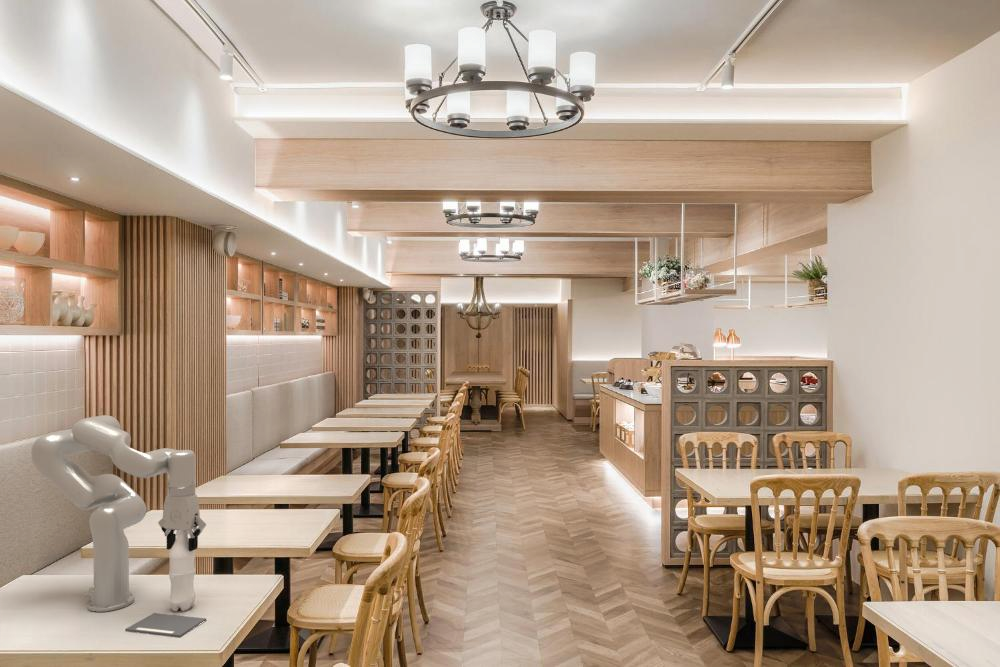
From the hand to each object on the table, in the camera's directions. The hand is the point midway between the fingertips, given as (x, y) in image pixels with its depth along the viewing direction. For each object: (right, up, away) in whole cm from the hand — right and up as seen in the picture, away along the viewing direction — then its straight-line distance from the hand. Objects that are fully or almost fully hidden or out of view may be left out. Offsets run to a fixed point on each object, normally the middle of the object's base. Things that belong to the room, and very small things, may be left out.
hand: (182, 548), depth 201 cm
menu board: (+1, -18, -12) cm, 22 cm away
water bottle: (0, -18, 0) cm, 18 cm away
